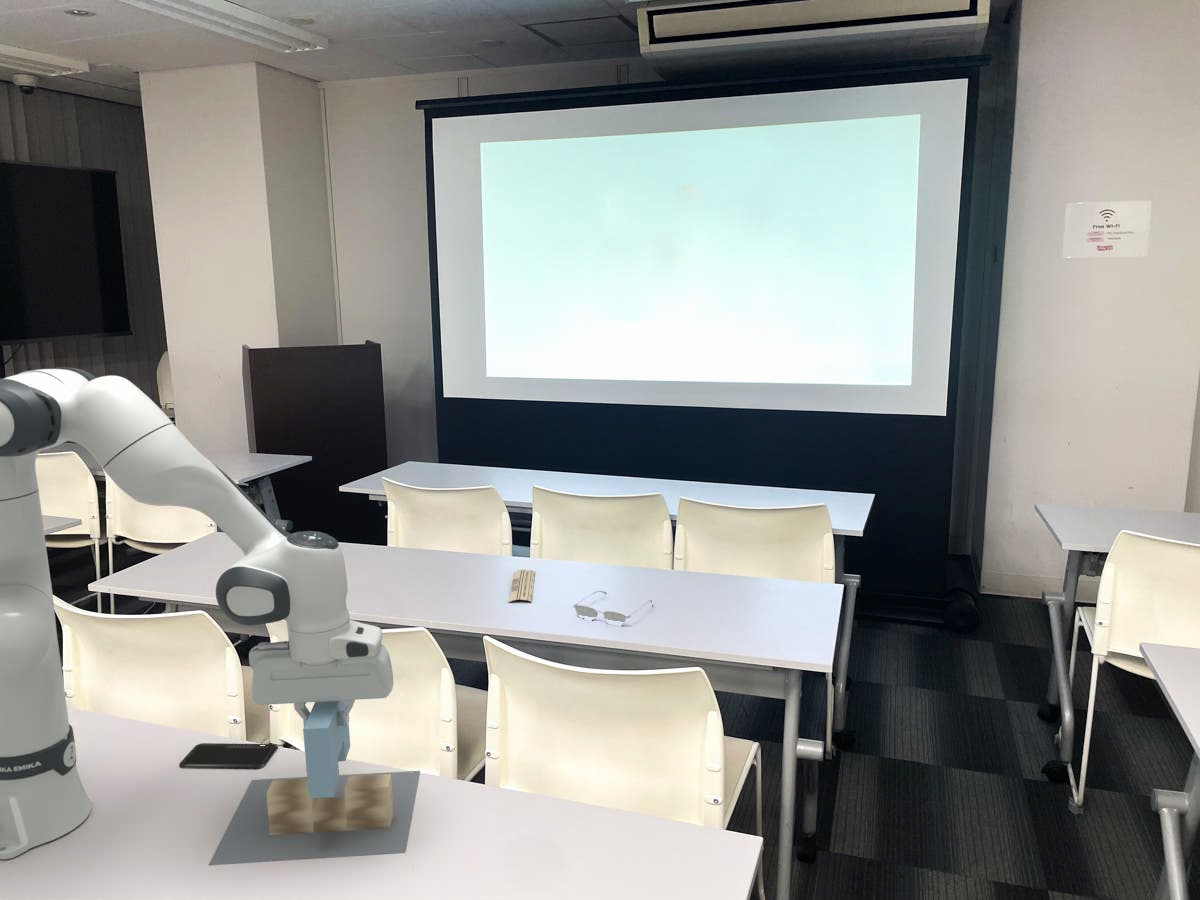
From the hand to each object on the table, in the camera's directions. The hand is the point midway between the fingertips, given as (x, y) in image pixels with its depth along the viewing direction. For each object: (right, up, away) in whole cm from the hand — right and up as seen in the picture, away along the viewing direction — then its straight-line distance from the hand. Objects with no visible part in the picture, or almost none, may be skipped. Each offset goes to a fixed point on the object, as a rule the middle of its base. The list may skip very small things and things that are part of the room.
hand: (327, 725), depth 134 cm
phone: (-24, -14, +23) cm, 36 cm away
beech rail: (0, -16, +3) cm, 17 cm away
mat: (-2, -16, +6) cm, 17 cm away
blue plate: (0, -8, +2) cm, 8 cm away
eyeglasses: (+45, 0, +91) cm, 102 cm away
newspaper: (+20, +3, +108) cm, 110 cm away
